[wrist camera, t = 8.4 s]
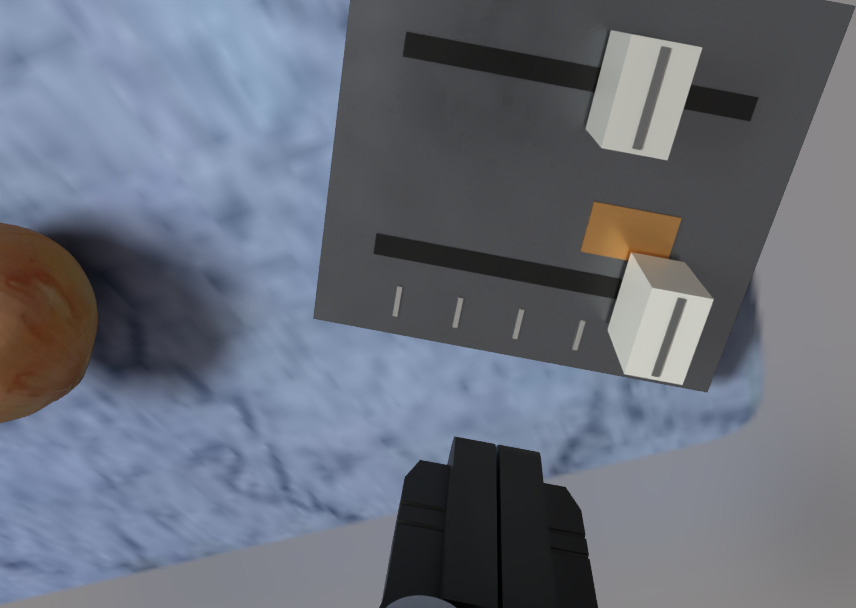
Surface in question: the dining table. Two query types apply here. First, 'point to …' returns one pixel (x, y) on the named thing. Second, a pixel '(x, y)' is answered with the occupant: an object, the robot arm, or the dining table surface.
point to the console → (555, 168)
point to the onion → (41, 322)
